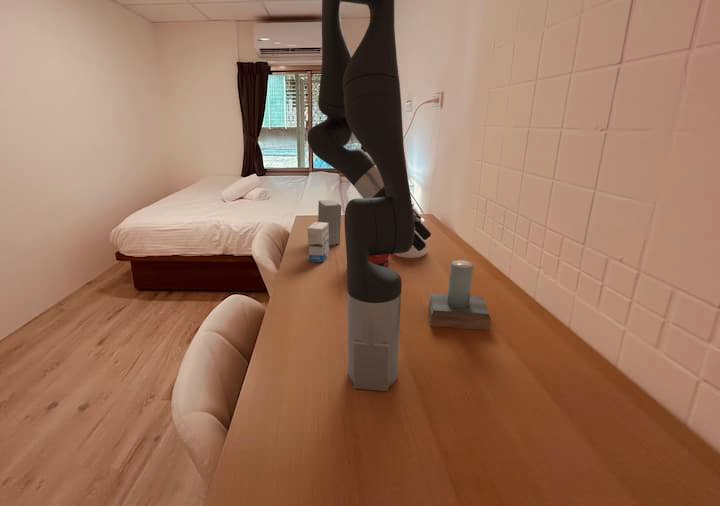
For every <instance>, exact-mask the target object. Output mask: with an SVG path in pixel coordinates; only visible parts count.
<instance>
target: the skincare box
mask: <svg viewBox="0 0 720 506" xmlns="http://www.w3.org/2000/svg"><path fill="white" fill-rule="evenodd" d="M317 209H318V210H317V211H318V215H317V218H318V220H317V222H324V223H328V231H329V247H330V246H337V245H336V244H339V245H340V244H341V225H342V221H341V220H342V205H341V204H340V203H339V202H338V201H336V200H334V199H323V200H322V199H321V200H318V208H317Z"/></svg>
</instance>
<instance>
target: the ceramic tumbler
mask: <svg viewBox="0 0 720 506" xmlns="http://www.w3.org/2000/svg"><path fill="white" fill-rule="evenodd" d="M474 266H475V265H474V263H473V262H471V261H468V260H465V259H457V260H453V261H451V262H450V268H449V281H448V290H447V291H448V292H447V295H448V300H447V303H448V305H449V306H451V307H453V308H458V309H464V308H467V307H469V302H470V296H471V292H472V282H473V275H474Z"/></svg>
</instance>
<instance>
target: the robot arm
mask: <svg viewBox="0 0 720 506" xmlns="http://www.w3.org/2000/svg"><path fill="white" fill-rule="evenodd" d="M342 3H351V4H357V5H364V6H367V7H368V10H369V24H368V27H367V29H366V31H365V32H364V36H363V37H362V39H361V41H360V43H359V44H358V46H357V48H356V49H355V51H354V53H353V55H352V53H351V52H350V48H349V46H348V43H347V41H346V38H345V34H344V32H343V28H342V21H341V9H342V7H341V6H342ZM395 3H396V1H395V0H321V70H320V71H321V72H320V79H319V90H318V100H317V101H318V102H317V105H318V109H319V111H320V112H321V113H322V114H323V115H324V116H326V117H327V118H326V119H325V120H323V121H321V122H319V123H318V124H315V125H314V126H313V127H311V128H310V129H309V130H308V132H307V137H306V139H307V143H308V146H309V149H310V150H311V152H313V154H314V155H315V156H316V157H317V158H318V159H320V160H321V161H323V162H324V163H325V164H327V165H329V166H330V167H332V168H333V169H335V170H336V171H338V172H340V173H341V174H342V175H343V176H344V178H346V180H348V182H349V183H350V184H351V185H352V186H353V187H354V188H355V190H356V191H357V193H358V194H359V195H360V198H353V199H350V200H349V201H348V202H347V204H346V205H345V206H346V207H345V210H344V219H343V220H344V236H345V247H346V249H345V251H346V252H345V253H346V274H347V275H346V276H347V277H346V278H347V280H346V281H347V284H346V285H347V357H348V367H347V368H348V377H349V380H350V381H351V382H352V388H353V389H356V390H357V389H358V390H368V391H377V392H379V391H380V392H389V388H390V387H391V386H392V385H393V384H394V383H395V382H396V381H397V379H398V374H399V373H398V371H399V355H400V353H399V352H400V351H399V350H400V349H399V348H400V347H399V346H400V329H401V326H400V325H401V305H402V286H403V285H402V283H403V282H402V277H401V276H400V274H399V273H398V271H395V270H394V269H392V268H389V267H388V268H387V267H383V266H380V265H376V264H374V263H372V262H370V261H368V256H373V255H386V254H389V255H394V254H398V253H405V252H408V251H409V250H410V249H411V247H412V245H413V246H414V247H415V248H416V249H417V250H418V251H421V250H422V249H423V248H425V246H426V244H425V242H424V241H423V240H422V239H421V238H420V237H419V236H418V235H417V234H416V233H415V231H416V232H417V233H418V234H419V235H420V236H421V237H422V238H423V239H424V240H426V239H427V240H428V238H430V237H431V235H432V233H431V231H430V230H429V229H428V228H427V227H426V226H425V225H424V224H422V223H421V222H422V221H421V220H420V219H421V218H422V216H421V215H420V214H419V215H420V216H419V215H418V214H417V212H416V211H415V210H414V209H413V208H412V203H413V202H412V196H411V189H410V183H409V177H408V172H407V171H408V170H407V169H408V168H407V164H406V156H405V145H404V131H403V114H402V110H403V108H402V97H401V96H402V95H401V94H402V93H401V83H400V82H401V81H400V74H399V66H398V56H397V54H398V53H397V43H396V29H395V28H396V27H395V25H396V24H395V23H396V19H395V18H396V15H395V14H396V13H395V9H396V8H395ZM352 135H354V137H355V138H356V140H357V142H358V143H359V144H360V145H361V146H362V148H363V149H364V150H365V151H364V150H363V149H361V148H354V149H348V148H347V147H346V145H347V144H349V142H350V140H351V138H352ZM361 197H362V198H361ZM414 228H415V229H414ZM414 230H415V231H414Z"/></svg>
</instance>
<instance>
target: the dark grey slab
mask: <svg viewBox="0 0 720 506" xmlns="http://www.w3.org/2000/svg"><path fill="white" fill-rule="evenodd" d="M447 300H448V294H439V293H431V294H430V295H429V301H428V302H429V303H428V312H429V314H428V315H429V322H430V323H429V324H430V327H435V328H436V327H437V328H451V329H453V328H454V329H465V330H479V331H481V330H482V331H489V330H490V325H491V318H492V317H491V314H490V312H489V309H488V306H487V304H486V302H485V299H484V296H475V295H470V302H469V307H467V308H464V309H458V308H453V307H451V306H449V305H448V303H447Z"/></svg>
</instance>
